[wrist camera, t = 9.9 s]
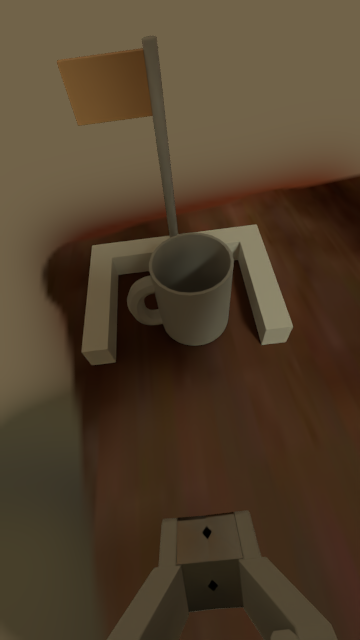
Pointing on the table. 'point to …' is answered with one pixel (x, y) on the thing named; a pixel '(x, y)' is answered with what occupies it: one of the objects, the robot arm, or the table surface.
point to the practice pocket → (133, 256)
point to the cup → (187, 288)
